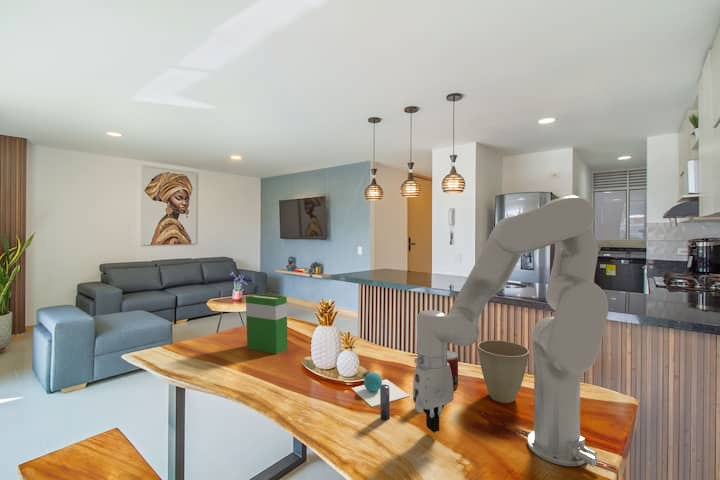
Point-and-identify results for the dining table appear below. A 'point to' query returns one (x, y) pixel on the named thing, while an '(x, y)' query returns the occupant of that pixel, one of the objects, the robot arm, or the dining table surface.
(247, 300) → the green cereal box
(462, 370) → the dining table surface
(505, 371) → the plant pot
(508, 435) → the dining table surface
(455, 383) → the canned food
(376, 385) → the teal sphere
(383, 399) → the left post
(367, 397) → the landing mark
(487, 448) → the dining table surface
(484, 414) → the dining table surface
